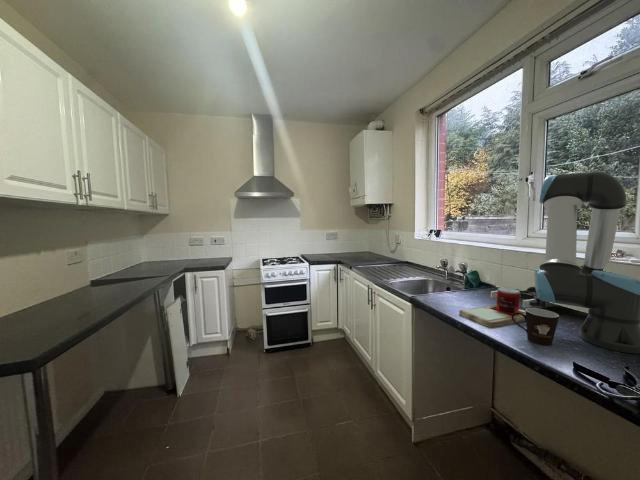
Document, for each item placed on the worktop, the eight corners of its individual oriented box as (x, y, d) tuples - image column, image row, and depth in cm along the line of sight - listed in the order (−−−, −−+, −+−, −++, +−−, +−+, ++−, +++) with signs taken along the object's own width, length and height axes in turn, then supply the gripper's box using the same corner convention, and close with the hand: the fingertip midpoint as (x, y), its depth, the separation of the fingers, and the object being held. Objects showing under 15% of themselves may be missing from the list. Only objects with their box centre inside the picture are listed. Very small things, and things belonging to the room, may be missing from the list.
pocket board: (535, 318, 109) (536, 313, 108) (490, 327, 100) (490, 322, 100) (502, 307, 122) (502, 303, 121) (459, 314, 113) (459, 309, 113)
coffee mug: (560, 342, 88) (562, 313, 87) (551, 350, 83) (554, 319, 82) (518, 330, 97) (520, 304, 96) (509, 336, 93) (510, 308, 92)
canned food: (510, 312, 116) (512, 287, 115) (522, 319, 108) (524, 292, 107) (492, 311, 117) (493, 287, 116) (502, 318, 109) (504, 292, 108)
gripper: (572, 311, 108) (538, 318, 101) (511, 294, 132) (479, 299, 124) (574, 293, 108) (539, 299, 100) (512, 280, 131) (480, 283, 124)
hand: (506, 299), depth 112 cm, fingers open, 13 cm apart
